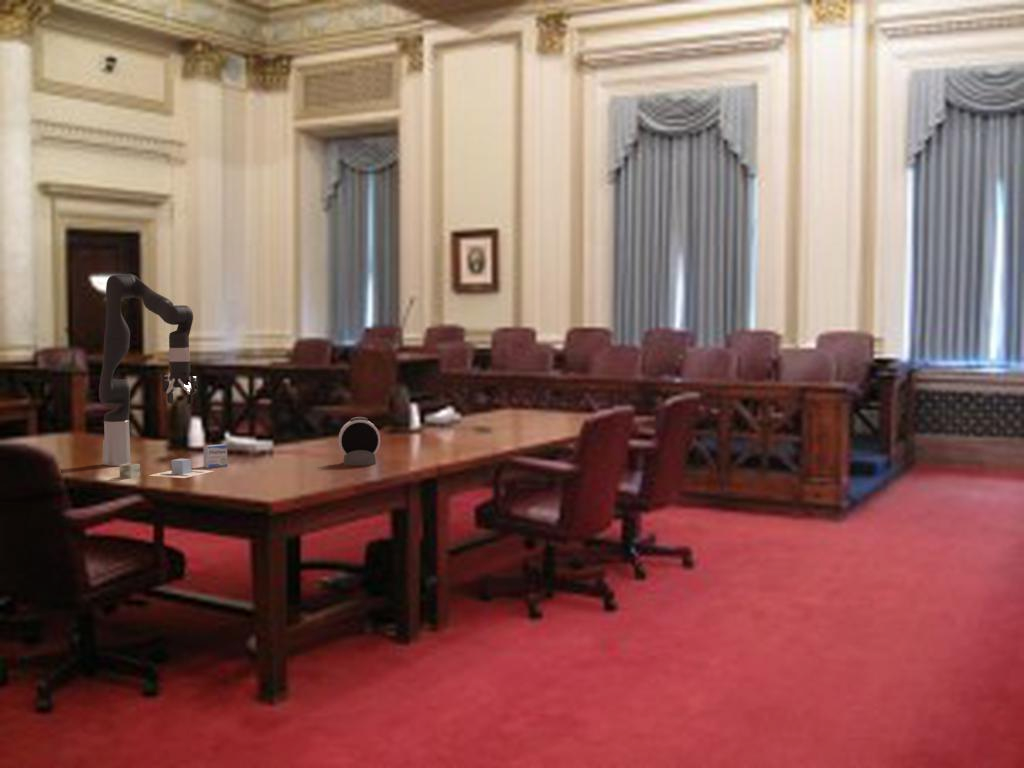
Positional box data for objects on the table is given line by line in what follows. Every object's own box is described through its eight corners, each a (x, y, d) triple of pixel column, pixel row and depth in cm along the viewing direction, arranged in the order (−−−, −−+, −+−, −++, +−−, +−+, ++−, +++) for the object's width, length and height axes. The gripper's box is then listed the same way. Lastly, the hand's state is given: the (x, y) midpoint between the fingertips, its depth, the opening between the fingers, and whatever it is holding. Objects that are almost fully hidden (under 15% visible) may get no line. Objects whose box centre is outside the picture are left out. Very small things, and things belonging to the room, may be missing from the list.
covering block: (119, 478, 420) (119, 465, 420) (129, 476, 425) (128, 463, 425) (130, 479, 419) (130, 465, 418) (140, 477, 423) (139, 463, 423)
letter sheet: (148, 476, 425) (148, 475, 425) (179, 469, 442) (179, 468, 442) (184, 479, 419) (184, 477, 419) (214, 472, 436) (214, 470, 436)
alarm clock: (339, 465, 451) (338, 418, 450) (338, 462, 461) (337, 416, 460) (381, 464, 455) (380, 418, 453) (379, 460, 465) (378, 415, 463)
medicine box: (207, 469, 443) (207, 446, 443) (203, 467, 447) (203, 445, 446) (227, 467, 448) (227, 444, 447) (223, 465, 452) (222, 443, 451)
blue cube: (171, 473, 429) (171, 460, 429) (180, 471, 434) (180, 458, 433) (182, 474, 427) (182, 460, 427) (191, 472, 432) (191, 459, 431)
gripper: (156, 360, 426) (157, 404, 427) (189, 361, 421) (189, 405, 422) (170, 359, 433) (171, 402, 434) (201, 359, 428) (202, 403, 429)
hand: (180, 404), depth 428 cm, fingers open, 8 cm apart
